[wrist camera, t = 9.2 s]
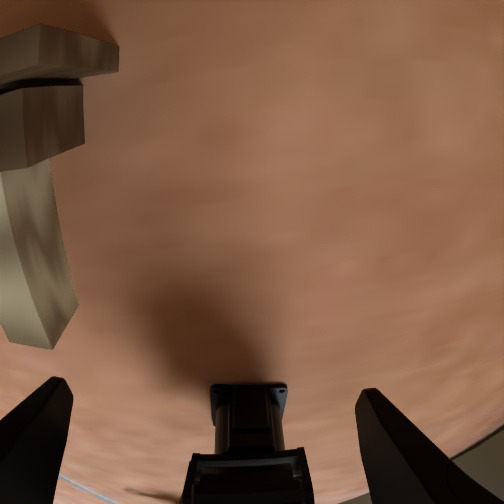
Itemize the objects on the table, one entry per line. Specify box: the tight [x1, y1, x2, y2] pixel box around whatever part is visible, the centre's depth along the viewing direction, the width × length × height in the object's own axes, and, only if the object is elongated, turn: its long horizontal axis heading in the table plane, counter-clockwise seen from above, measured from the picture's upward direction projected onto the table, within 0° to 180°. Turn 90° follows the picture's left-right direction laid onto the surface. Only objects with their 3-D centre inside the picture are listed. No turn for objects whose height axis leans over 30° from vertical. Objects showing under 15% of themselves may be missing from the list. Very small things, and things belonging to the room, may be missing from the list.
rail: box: [0, 158, 79, 350], centre depth 16 cm, size 15×4×5 cm, turn 178°
